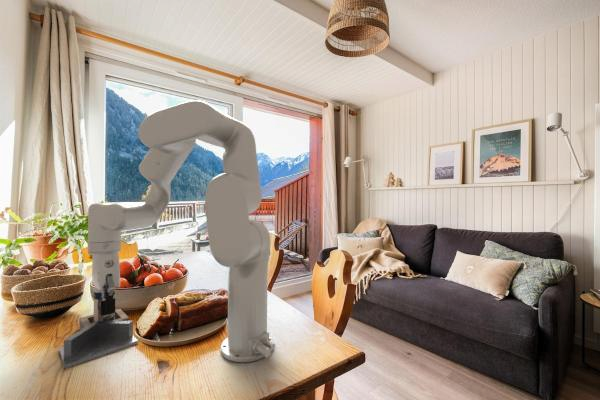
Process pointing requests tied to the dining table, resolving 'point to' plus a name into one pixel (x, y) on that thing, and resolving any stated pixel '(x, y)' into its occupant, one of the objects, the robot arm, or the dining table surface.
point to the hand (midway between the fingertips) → (104, 309)
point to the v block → (97, 341)
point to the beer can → (98, 308)
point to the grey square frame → (90, 319)
